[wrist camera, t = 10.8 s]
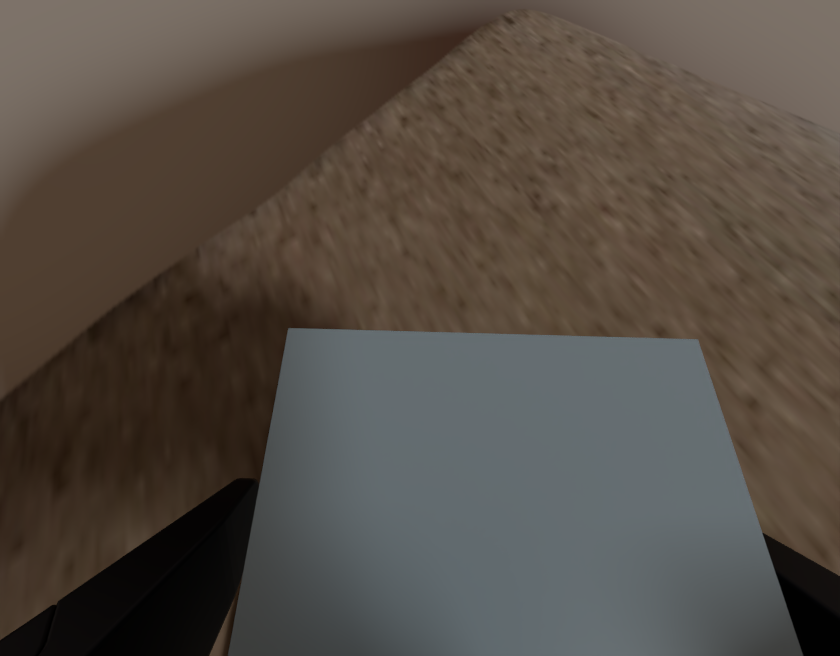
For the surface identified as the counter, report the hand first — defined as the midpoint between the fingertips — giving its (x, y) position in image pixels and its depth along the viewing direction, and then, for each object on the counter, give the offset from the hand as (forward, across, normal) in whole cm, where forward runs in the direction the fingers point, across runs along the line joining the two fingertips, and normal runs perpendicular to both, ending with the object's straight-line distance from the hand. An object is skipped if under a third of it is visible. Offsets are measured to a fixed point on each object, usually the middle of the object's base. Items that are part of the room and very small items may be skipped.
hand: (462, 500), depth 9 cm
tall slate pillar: (+5, 0, +6) cm, 8 cm away
